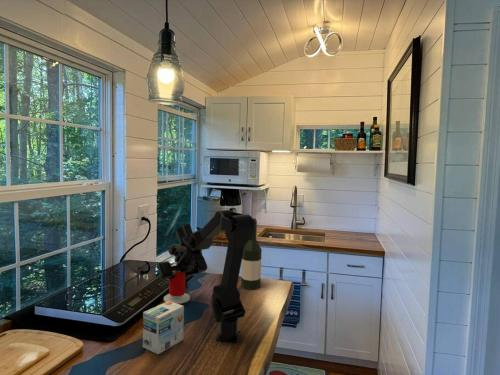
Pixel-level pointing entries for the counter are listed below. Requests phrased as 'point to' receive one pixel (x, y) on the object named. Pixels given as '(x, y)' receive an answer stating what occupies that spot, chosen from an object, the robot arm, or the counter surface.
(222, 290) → the robot arm
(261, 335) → the counter surface
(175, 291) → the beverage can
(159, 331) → the light bulb box
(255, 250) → the wine bottle
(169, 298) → the coaster
